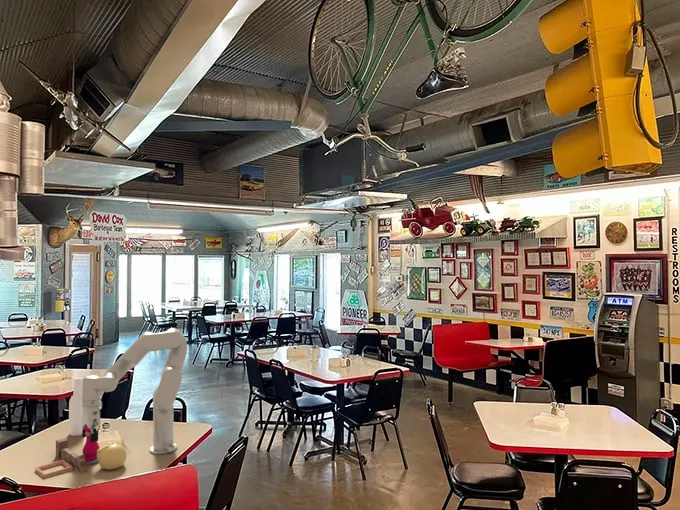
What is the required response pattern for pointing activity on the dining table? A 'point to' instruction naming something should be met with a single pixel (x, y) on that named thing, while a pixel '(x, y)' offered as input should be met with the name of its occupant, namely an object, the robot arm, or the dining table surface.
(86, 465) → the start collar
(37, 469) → the collar
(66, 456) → the door edge board
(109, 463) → the pale yellow round fruit
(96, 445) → the pepper mill
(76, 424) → the alcohol
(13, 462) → the dining table surface
